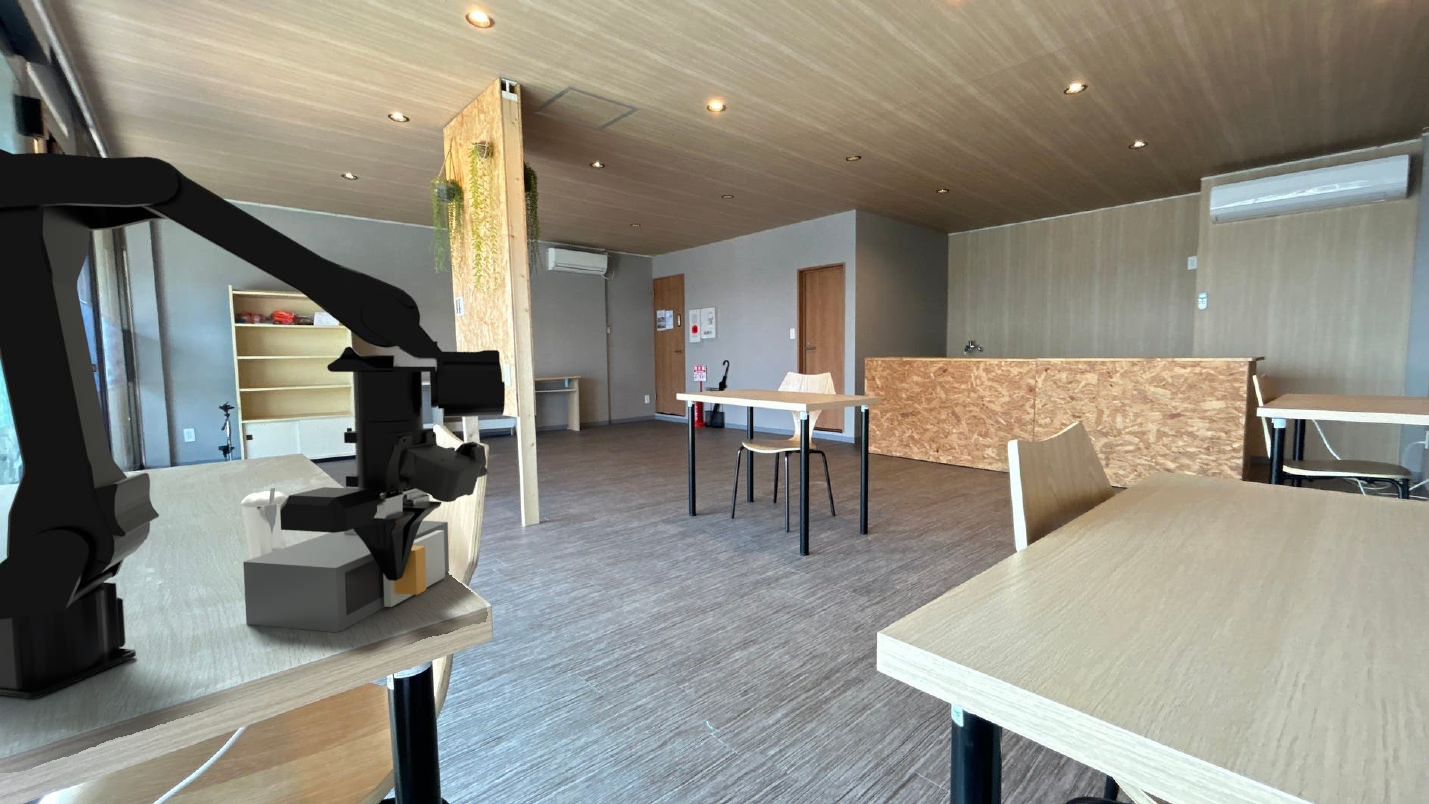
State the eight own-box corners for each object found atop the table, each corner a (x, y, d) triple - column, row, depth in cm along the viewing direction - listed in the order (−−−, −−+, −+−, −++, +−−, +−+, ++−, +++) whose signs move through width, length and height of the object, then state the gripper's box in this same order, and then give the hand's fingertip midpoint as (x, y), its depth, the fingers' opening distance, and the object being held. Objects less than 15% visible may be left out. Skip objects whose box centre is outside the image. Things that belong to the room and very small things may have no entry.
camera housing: (339, 632, 52) (336, 561, 52) (246, 624, 54) (243, 555, 53) (456, 568, 69) (454, 514, 69) (382, 563, 71) (380, 510, 70)
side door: (413, 608, 56) (412, 552, 56) (384, 606, 57) (382, 550, 57) (464, 578, 65) (463, 528, 64) (438, 576, 65) (437, 527, 65)
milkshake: (252, 576, 66) (248, 491, 66) (239, 566, 70) (235, 485, 69) (298, 565, 70) (295, 485, 69) (284, 557, 73) (280, 480, 73)
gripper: (392, 430, 44) (398, 628, 45) (517, 413, 62) (520, 553, 63) (270, 428, 46) (279, 617, 47) (426, 412, 64) (430, 548, 65)
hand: (395, 579), depth 55 cm, fingers closed
